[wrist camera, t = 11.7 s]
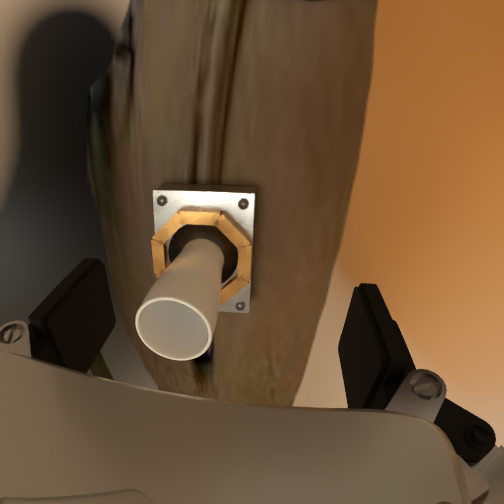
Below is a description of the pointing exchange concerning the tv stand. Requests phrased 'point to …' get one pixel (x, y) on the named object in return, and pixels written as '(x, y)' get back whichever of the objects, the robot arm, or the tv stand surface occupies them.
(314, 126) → the tv stand surface
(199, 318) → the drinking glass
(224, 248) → the octagon ring knob plate
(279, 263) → the tv stand surface
